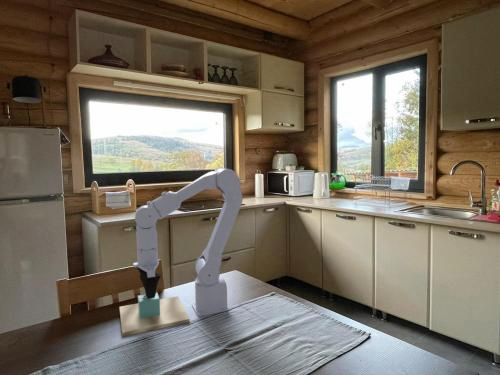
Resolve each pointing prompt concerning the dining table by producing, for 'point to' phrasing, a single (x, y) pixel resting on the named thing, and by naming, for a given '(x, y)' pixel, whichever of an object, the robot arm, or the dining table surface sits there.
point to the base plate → (153, 317)
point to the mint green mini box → (148, 306)
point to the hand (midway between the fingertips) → (149, 292)
